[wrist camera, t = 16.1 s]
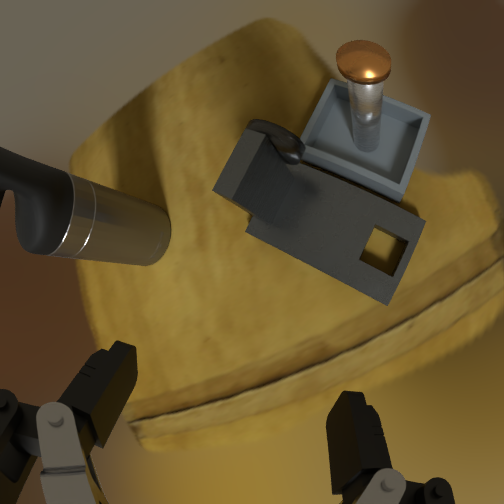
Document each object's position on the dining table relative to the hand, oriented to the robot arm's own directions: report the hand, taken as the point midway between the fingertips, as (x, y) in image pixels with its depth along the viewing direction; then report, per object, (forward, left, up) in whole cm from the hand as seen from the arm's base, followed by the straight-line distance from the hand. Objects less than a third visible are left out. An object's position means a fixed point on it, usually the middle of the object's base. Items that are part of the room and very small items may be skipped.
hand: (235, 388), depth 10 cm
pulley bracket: (-3, +10, -24) cm, 26 cm away
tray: (-4, +21, -24) cm, 32 cm away
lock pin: (-4, +21, -23) cm, 32 cm away
